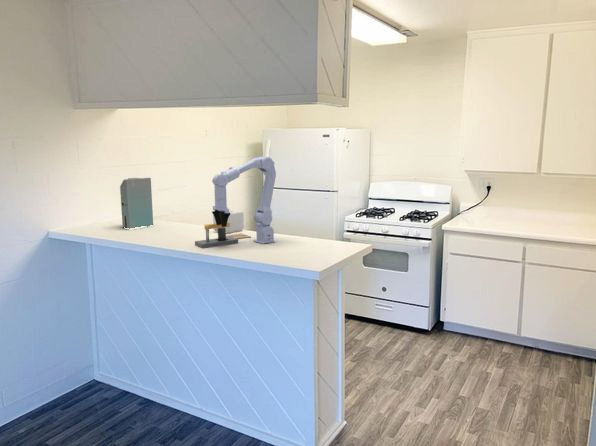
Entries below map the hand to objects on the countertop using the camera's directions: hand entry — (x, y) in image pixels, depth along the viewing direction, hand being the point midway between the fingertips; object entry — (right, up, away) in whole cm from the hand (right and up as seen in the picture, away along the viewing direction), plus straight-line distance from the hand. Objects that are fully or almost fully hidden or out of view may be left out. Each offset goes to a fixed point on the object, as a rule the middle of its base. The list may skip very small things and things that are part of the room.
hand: (221, 225), depth 244 cm
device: (-59, -2, +55) cm, 81 cm away
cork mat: (+5, -6, +24) cm, 26 cm away
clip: (-3, -1, +5) cm, 6 cm away
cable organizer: (-2, -4, +41) cm, 41 cm away
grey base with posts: (-3, -9, +7) cm, 12 cm away
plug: (-1, -9, +8) cm, 12 cm away
